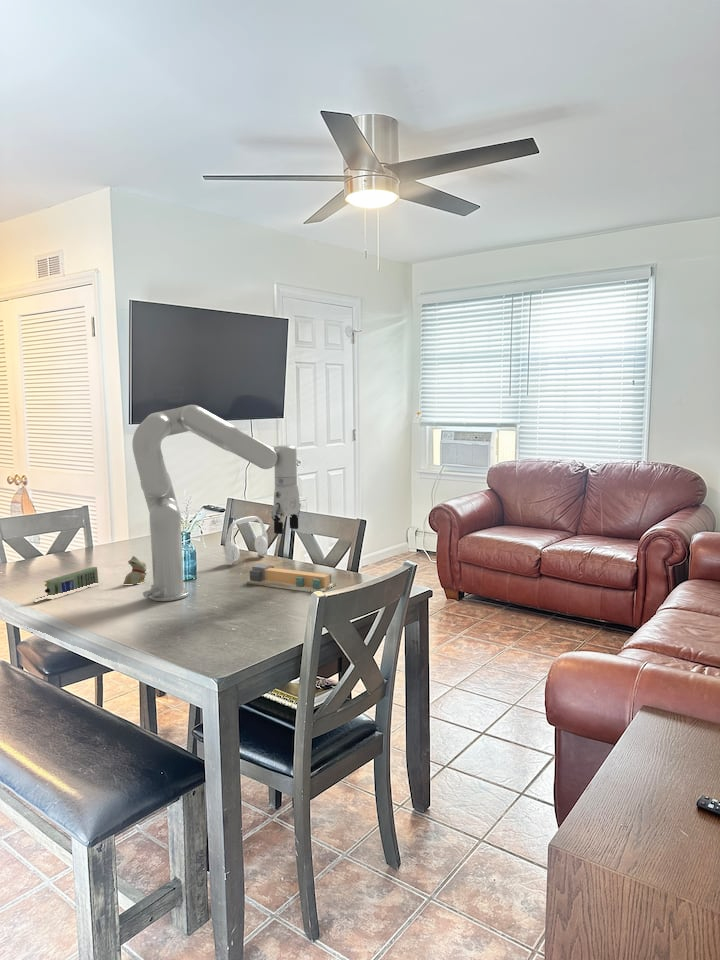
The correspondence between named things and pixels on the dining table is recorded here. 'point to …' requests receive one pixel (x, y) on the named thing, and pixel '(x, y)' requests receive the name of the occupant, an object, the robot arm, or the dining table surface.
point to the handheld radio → (71, 581)
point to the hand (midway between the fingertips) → (286, 531)
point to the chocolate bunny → (136, 572)
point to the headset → (260, 541)
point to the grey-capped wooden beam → (290, 575)
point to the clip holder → (256, 579)
